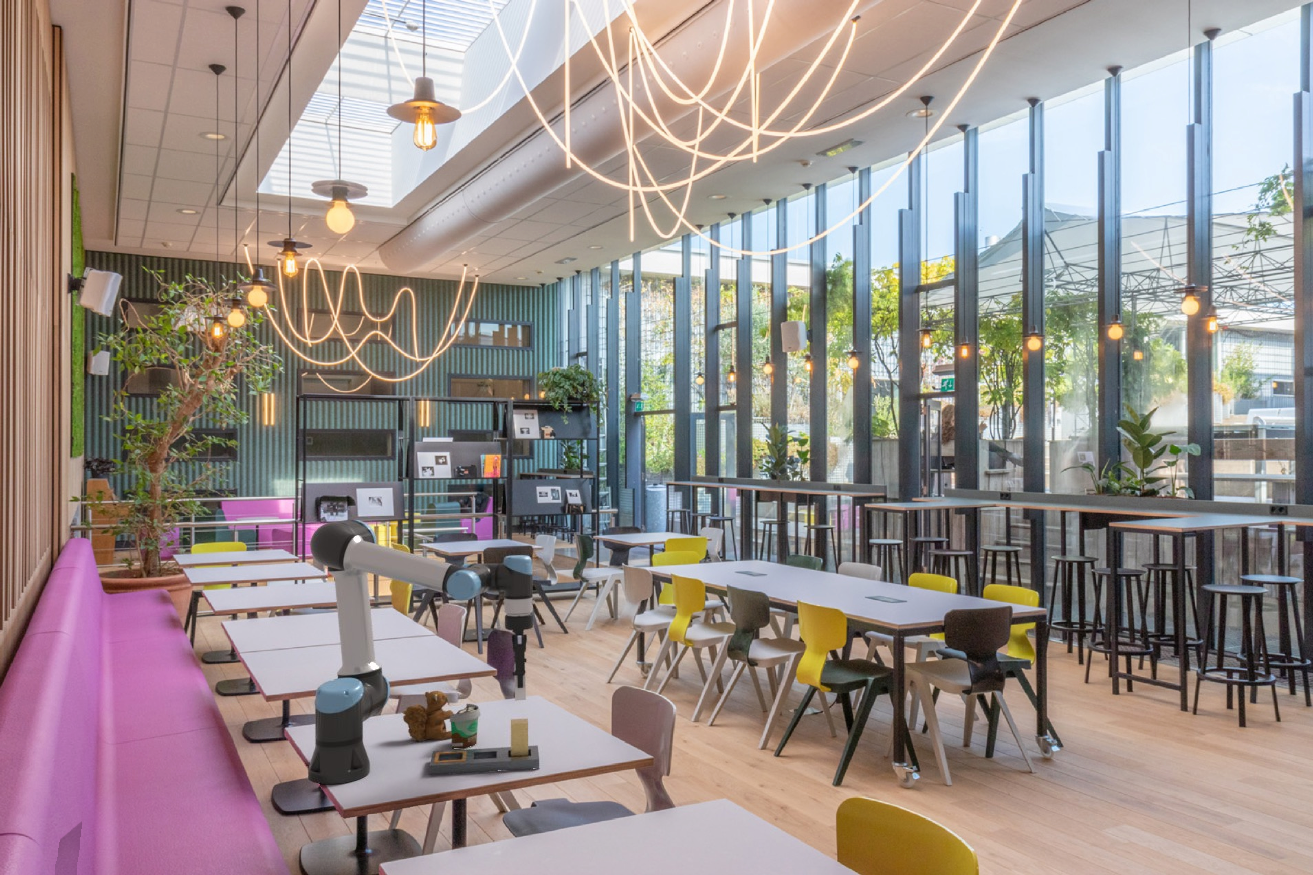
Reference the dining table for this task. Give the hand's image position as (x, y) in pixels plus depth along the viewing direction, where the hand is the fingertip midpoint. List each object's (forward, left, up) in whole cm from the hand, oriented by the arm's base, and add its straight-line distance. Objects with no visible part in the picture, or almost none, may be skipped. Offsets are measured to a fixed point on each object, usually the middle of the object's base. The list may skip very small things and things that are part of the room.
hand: (520, 693), depth 249 cm
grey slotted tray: (-9, 0, -18) cm, 20 cm away
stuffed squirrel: (-26, +28, -19) cm, 43 cm away
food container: (-14, +19, -19) cm, 30 cm away
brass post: (0, 0, -18) cm, 18 cm away
